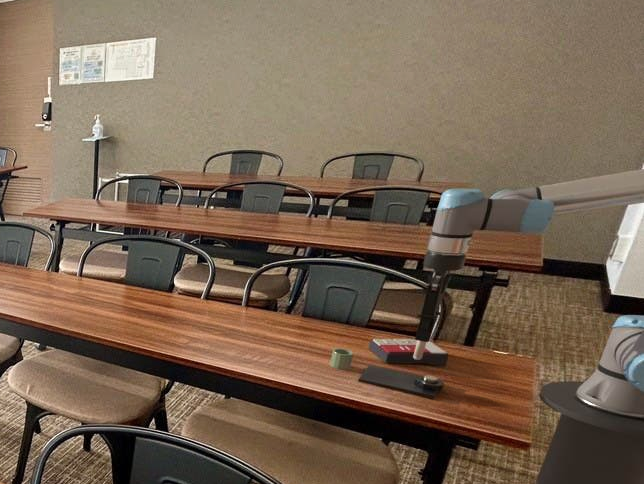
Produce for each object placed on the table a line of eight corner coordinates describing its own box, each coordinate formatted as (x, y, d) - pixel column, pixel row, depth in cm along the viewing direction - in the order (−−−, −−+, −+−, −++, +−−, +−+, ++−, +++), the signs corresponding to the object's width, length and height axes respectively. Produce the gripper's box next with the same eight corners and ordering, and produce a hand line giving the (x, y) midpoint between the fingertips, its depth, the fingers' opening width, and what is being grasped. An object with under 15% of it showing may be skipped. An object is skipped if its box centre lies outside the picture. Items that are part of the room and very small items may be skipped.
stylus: (421, 359, 154) (436, 307, 148) (420, 361, 152) (435, 309, 147) (413, 357, 155) (427, 306, 150) (411, 359, 154) (425, 307, 148)
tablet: (445, 384, 155) (447, 376, 155) (437, 400, 148) (440, 391, 147) (368, 368, 167) (370, 360, 166) (357, 382, 160) (359, 374, 159)
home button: (437, 381, 153) (438, 377, 152) (435, 385, 151) (436, 380, 151) (423, 378, 155) (424, 374, 154) (421, 382, 153) (422, 377, 153)
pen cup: (351, 366, 169) (355, 351, 167) (347, 372, 166) (350, 356, 164) (332, 362, 172) (335, 347, 171) (327, 367, 169) (331, 352, 168)
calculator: (370, 337, 178) (428, 337, 174) (367, 350, 179) (425, 350, 175) (388, 351, 168) (450, 352, 164) (385, 364, 169) (446, 365, 165)
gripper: (462, 260, 136) (436, 351, 144) (470, 248, 145) (445, 334, 153) (421, 256, 141) (398, 344, 150) (431, 244, 150) (409, 328, 159)
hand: (422, 339), depth 152 cm, fingers closed on stylus, 2 cm apart
